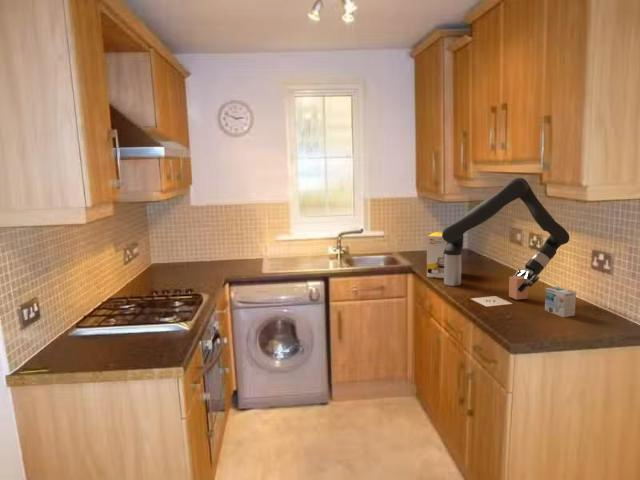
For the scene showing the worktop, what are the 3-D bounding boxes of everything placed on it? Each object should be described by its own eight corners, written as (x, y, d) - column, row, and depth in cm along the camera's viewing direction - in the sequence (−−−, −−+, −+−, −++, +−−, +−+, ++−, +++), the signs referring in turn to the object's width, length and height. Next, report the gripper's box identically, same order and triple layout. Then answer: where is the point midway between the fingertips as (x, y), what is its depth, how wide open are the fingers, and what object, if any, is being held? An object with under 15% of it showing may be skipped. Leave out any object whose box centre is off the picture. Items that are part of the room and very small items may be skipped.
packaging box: (459, 273, 287) (459, 233, 283) (454, 279, 273) (454, 236, 269) (433, 271, 295) (433, 232, 291) (426, 276, 280) (426, 235, 276)
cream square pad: (470, 299, 231) (470, 298, 231) (495, 296, 234) (495, 295, 234) (486, 307, 218) (486, 306, 217) (512, 304, 221) (512, 303, 220)
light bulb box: (544, 310, 210) (545, 287, 208) (555, 308, 212) (556, 285, 211) (563, 317, 200) (565, 293, 199) (575, 315, 203) (576, 291, 201)
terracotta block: (508, 296, 230) (509, 276, 228) (519, 295, 231) (520, 275, 229) (516, 299, 224) (517, 279, 222) (527, 298, 225) (528, 278, 224)
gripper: (523, 255, 233) (501, 280, 232) (543, 261, 219) (519, 288, 218) (532, 265, 235) (510, 290, 234) (552, 271, 221) (529, 297, 220)
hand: (515, 289), depth 226 cm, fingers closed on terracotta block, 6 cm apart
